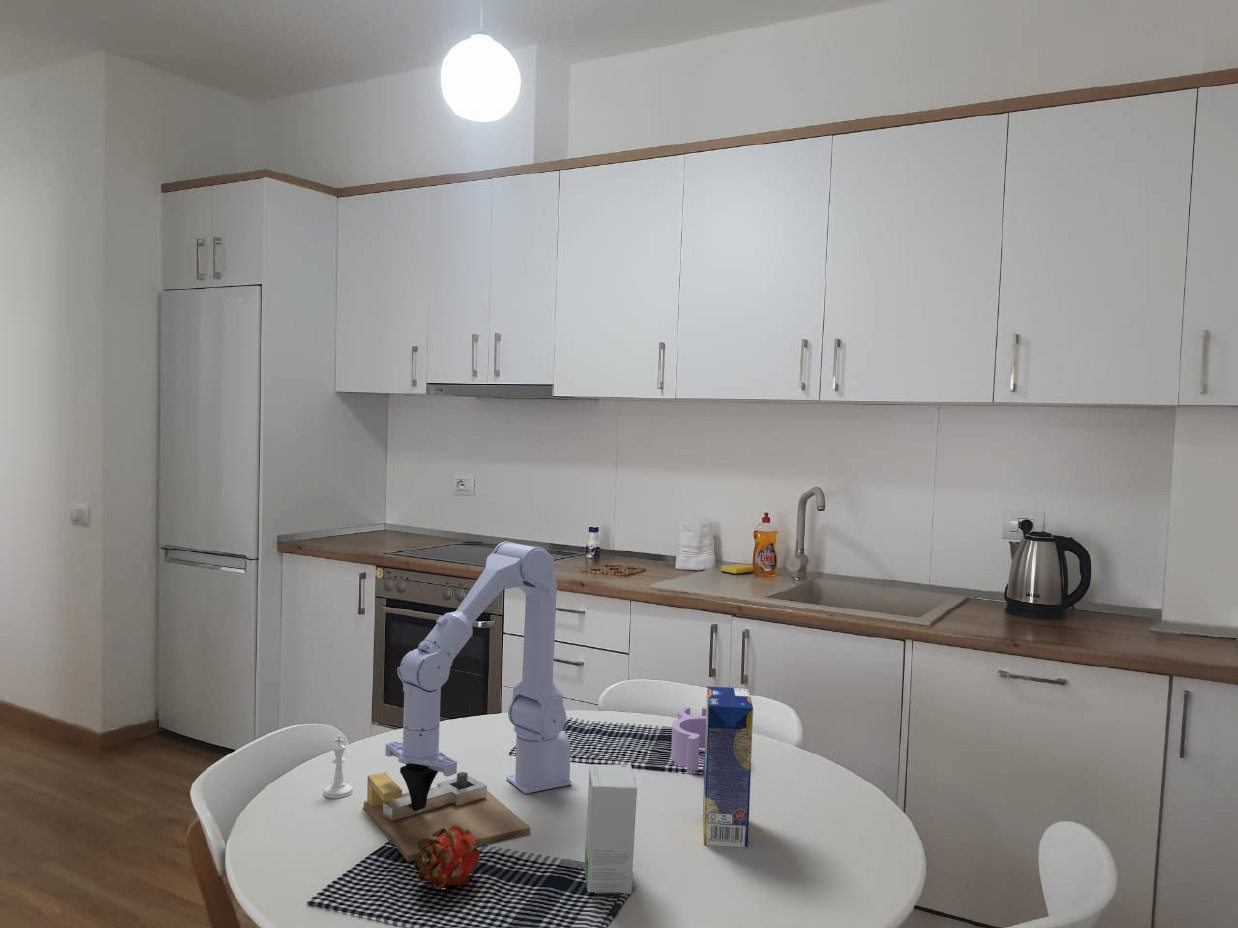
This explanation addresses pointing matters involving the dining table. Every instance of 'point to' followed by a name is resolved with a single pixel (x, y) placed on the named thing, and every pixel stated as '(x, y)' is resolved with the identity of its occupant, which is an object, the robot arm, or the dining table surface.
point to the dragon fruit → (447, 857)
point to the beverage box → (727, 766)
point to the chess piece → (338, 775)
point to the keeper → (381, 789)
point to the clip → (688, 738)
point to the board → (451, 822)
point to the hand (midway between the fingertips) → (418, 808)
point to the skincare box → (610, 828)
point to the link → (437, 798)
